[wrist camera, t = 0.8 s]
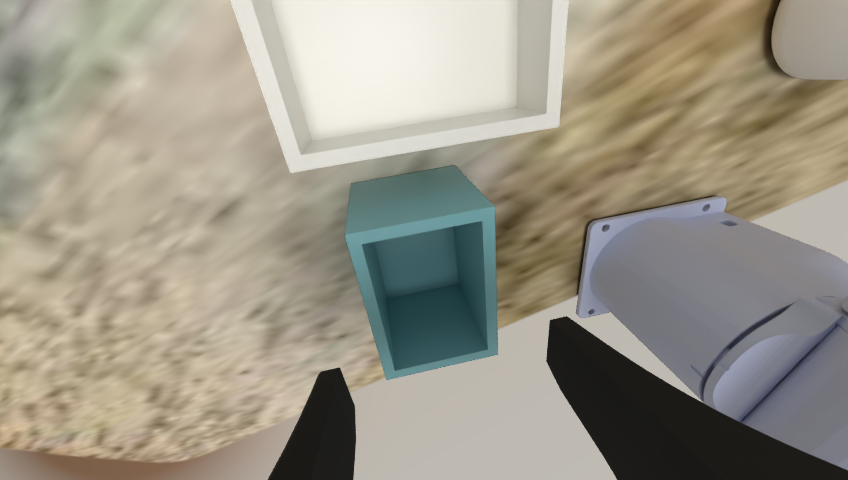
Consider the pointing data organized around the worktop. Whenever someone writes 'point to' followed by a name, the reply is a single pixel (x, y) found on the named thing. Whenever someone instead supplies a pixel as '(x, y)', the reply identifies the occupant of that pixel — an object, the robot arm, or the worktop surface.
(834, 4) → the water bottle
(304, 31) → the white crate
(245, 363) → the worktop surface
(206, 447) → the worktop surface
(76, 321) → the worktop surface
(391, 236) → the teal crate
